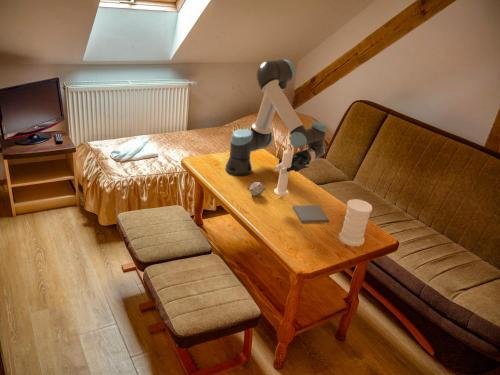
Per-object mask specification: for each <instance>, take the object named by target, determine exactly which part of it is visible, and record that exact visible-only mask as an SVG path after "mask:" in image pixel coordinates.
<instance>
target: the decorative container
mask: <svg viewBox="0 0 500 375" xmlns="http://www.w3.org/2000/svg"><path fill="white" fill-rule="evenodd" d="M346 207H347V208H346V212H345V213H346V214H345V215H344V221H343V222H342V223H343V225H342V228H341V231H340V232H339V234H338V239H339V241H340V242H341V243H343V244H345V245H346V244H347V246H349V247H354V246H357V247H361V246H363V245H364V243H365V237H364V236H365V232H366V229H367V224H368V222H369V218H370V214H371V213H372V211H373V205H372V204H370V203H369V202H368V201H365V200H363V199H356V198H354V199H349V200H348V201H347V203H346ZM362 244H363V245H362ZM360 245H361V246H360Z"/></svg>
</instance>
